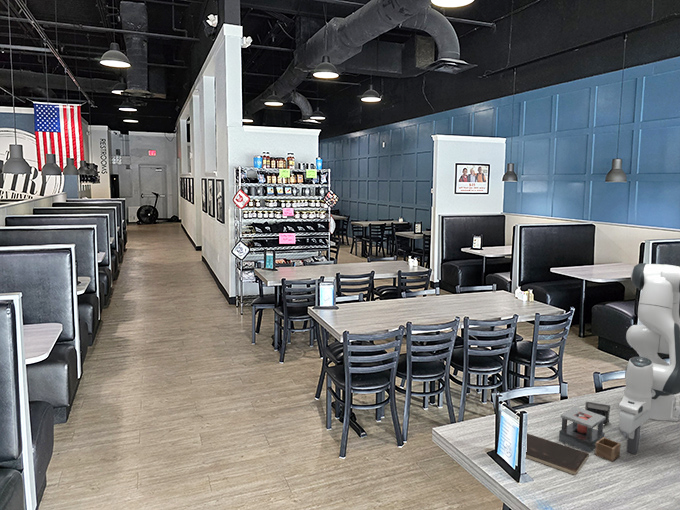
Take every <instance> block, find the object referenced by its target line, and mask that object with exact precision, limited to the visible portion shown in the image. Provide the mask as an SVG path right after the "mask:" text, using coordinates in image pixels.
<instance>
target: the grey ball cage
mask: <svg viewBox="0 0 680 510" xmlns="http://www.w3.org/2000/svg"><path fill="white" fill-rule="evenodd" d="M580 415H581V416H582V417H584V416H586V417H589V419H588V420H585V419H582V418H580V417H579V416H580ZM560 418H561V419H562V420H561V429H560V430H559V431H558V432H559V433H558V441H559V442H562V443H564V444H567V445H570V446H571V447H573V448H574V447H575V448H576V449H578V450H581V451H583V452H586V453H592V452H593V451H594V450H595V448H596V442H597V441H599V440H600V439H601V438H603V437H604V438H605V432H604V425H603V423H604V420H605V419H606V417H605V416H602V415H599V414H596V413H593V412H590V411H587V410H585V408H582V407H578V406H576V405H574V406H573V407H572V408H570V409H569V410H567V411H565V412H563V413H561V414H560ZM568 421H569V422H571V423H569V424H568ZM577 423H578V424H580V425H583V426H586V427H587V433H580V432H578V431H577ZM595 427H597V429H595Z"/></svg>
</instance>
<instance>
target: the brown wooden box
mask: <svg viewBox="0 0 680 510" xmlns="http://www.w3.org/2000/svg"><path fill="white" fill-rule="evenodd" d="M594 450H595V451H594V456H597V457H600V458H602V459H604V460H607V461H609V462H612V463H613V462H614V461H615V460H617V459H618V458H619V457H620V455H621V443H620V442H618V441H615V440H612V439H610V438H606V437H605V436H604V437H603V438H601V439H600V440H599V441H597V442H596V448H595V449H594Z"/></svg>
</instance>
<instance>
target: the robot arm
mask: <svg viewBox="0 0 680 510" xmlns="http://www.w3.org/2000/svg"><path fill="white" fill-rule="evenodd" d="M630 280H631V284H632V285H633V286H634V287H635V288H636V289H638V290H639V291H641V293H640V296H639V301H638V307H637V317H638V318H637V319H638V321H640V323H641V324H632V325H630V327H629V328H628V329H627V331H626V335H625V339H626V341H627V344H628V345H629V346H630V347H631V348H632V349H633V350H635V352H636V353H637V354H638V355H639V356H633V357H631V358H629V360H628V364H627V365H626V367H625V373H624V378H625V379H624V381H625V388H624V392H623V396H622V399H621V400H620V402H619V404H618V410H619V415H618V416H619V418H618V420H619V421H618V429H619V428H620V429H619V430H620V431H623V432H626V433H629V435H628V437H629V438H631V439H634V438H635V433H634V431H635V429H636V428H638V427H639V426H640V427H641V428H642V425H643V424H644V423H645V422H646V421H648V420H649V419H651V420H656V421H672V422H678V421H679V420H680V406H679V405H677V397H676V395H677V394H680V266H678V265H672V264H667V263H666V264H665V263H664V264H658V263H644V262H643V263H637V264H636V265H634V267H633V269H632V270H631V273H630ZM658 353H660V354H664V355H669V362H668V361H666V360H664V359H662V357H660V356H659V354H658ZM620 409H621V411H620Z"/></svg>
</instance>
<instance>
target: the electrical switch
mask: <svg viewBox="0 0 680 510" xmlns="http://www.w3.org/2000/svg"><path fill="white" fill-rule="evenodd" d="M584 406H585V407H584V410H587V411H590V412H593V413H596V414H599V415H602V416H605V417H606V419H605V420H604V423H603V424H605V425H604V426H608V423H610V422H609V421H610V412H611V411H610V410H611V404H610V403H604V402H598V401H593V400H586V401H585V405H584ZM583 417H586V416H583ZM586 418H588V419H589V417H586Z"/></svg>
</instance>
